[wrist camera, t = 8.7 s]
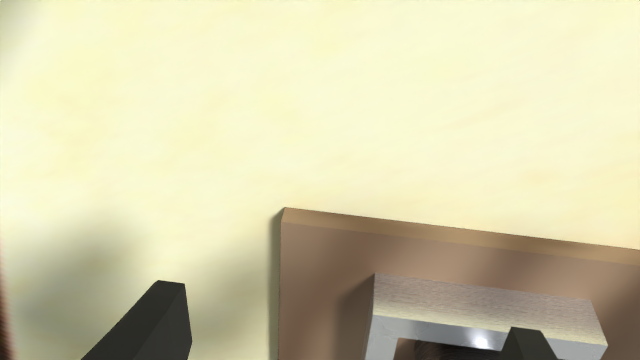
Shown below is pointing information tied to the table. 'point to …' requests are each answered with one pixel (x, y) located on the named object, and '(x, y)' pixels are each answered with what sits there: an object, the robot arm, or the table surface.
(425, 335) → the square metal frame
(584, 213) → the table surface
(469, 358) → the cylinder
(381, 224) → the walnut base plate
